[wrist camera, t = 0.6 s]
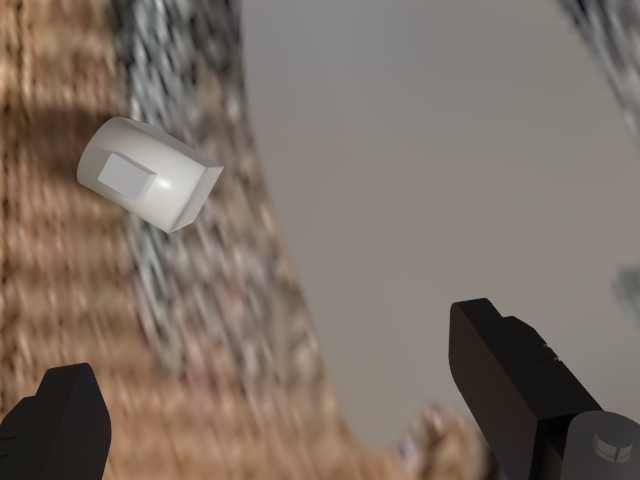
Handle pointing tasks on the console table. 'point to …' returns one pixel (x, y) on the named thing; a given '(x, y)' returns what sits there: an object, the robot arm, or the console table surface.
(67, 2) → the console table surface
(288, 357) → the console table surface
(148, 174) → the cylinder
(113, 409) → the console table surface
